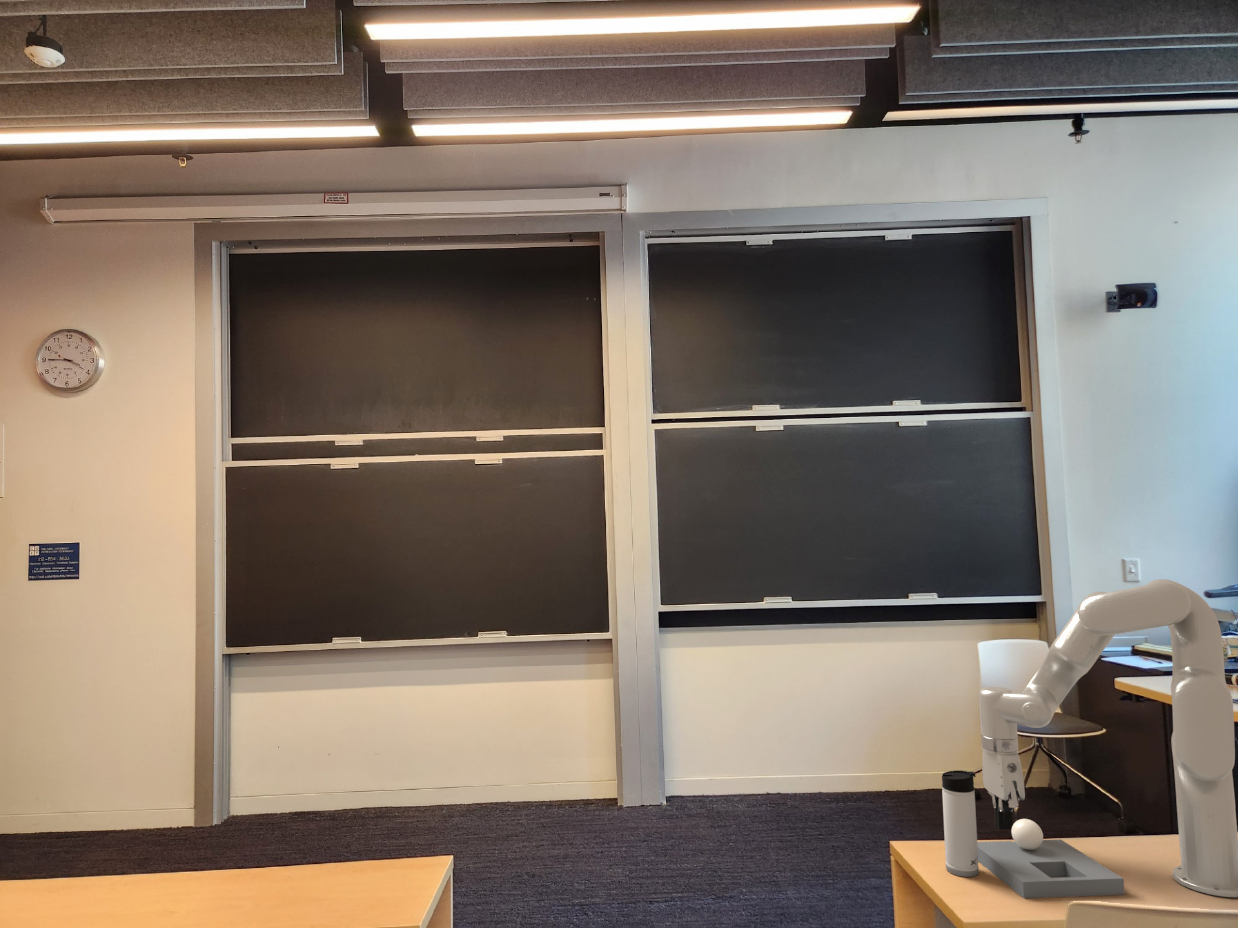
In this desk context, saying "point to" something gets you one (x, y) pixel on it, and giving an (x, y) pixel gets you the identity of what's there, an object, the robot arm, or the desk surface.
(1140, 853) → the desk surface
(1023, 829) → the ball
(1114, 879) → the plate
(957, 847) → the travel mug
